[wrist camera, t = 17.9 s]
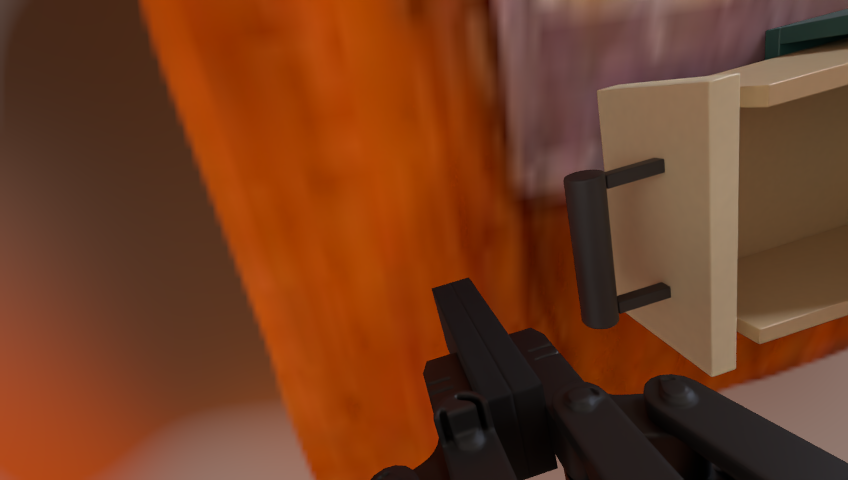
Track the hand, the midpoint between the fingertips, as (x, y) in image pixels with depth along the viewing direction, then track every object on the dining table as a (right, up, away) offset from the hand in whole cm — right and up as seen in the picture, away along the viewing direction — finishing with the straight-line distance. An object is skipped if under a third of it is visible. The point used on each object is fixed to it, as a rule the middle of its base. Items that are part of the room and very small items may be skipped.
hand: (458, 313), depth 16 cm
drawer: (+14, +6, +6) cm, 16 cm away
